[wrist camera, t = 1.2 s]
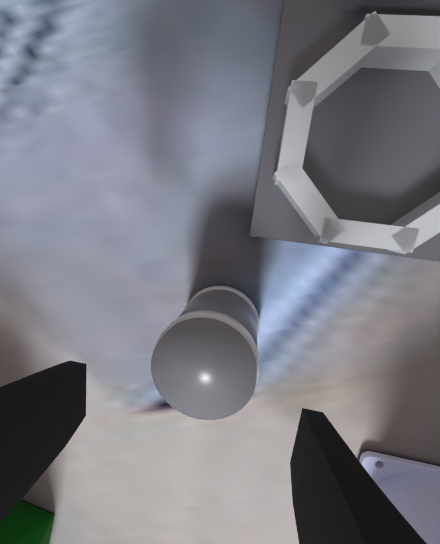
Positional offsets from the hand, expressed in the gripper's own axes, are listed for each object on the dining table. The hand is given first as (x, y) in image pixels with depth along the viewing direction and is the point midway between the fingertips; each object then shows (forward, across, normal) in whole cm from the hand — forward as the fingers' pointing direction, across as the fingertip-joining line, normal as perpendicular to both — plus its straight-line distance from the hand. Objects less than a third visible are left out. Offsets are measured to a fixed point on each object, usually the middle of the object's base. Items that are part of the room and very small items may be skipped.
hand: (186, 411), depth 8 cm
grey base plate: (+8, -6, -11) cm, 15 cm away
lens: (+8, 0, 0) cm, 8 cm away
